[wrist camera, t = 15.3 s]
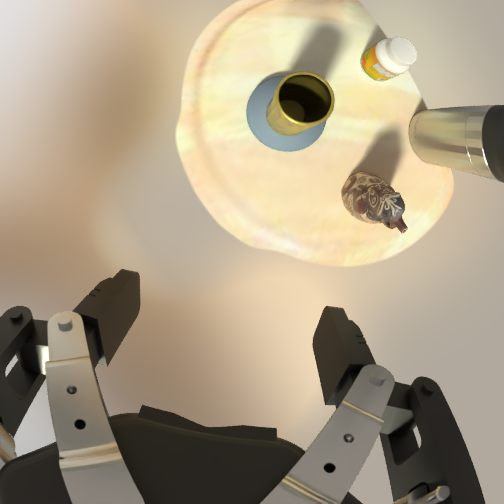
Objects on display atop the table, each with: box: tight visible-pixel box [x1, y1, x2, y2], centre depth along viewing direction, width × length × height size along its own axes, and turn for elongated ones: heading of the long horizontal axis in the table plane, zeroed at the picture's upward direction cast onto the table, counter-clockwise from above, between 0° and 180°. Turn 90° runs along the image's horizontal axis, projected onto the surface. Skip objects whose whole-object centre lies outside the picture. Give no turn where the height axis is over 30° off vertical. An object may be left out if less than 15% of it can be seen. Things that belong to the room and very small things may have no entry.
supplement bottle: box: [360, 37, 417, 81], centre depth 26 cm, size 5×5×10 cm
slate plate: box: [246, 76, 326, 152], centre depth 34 cm, size 11×11×2 cm
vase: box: [266, 72, 334, 136], centre depth 27 cm, size 6×6×14 cm
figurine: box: [342, 172, 408, 233], centre depth 33 cm, size 7×7×12 cm
